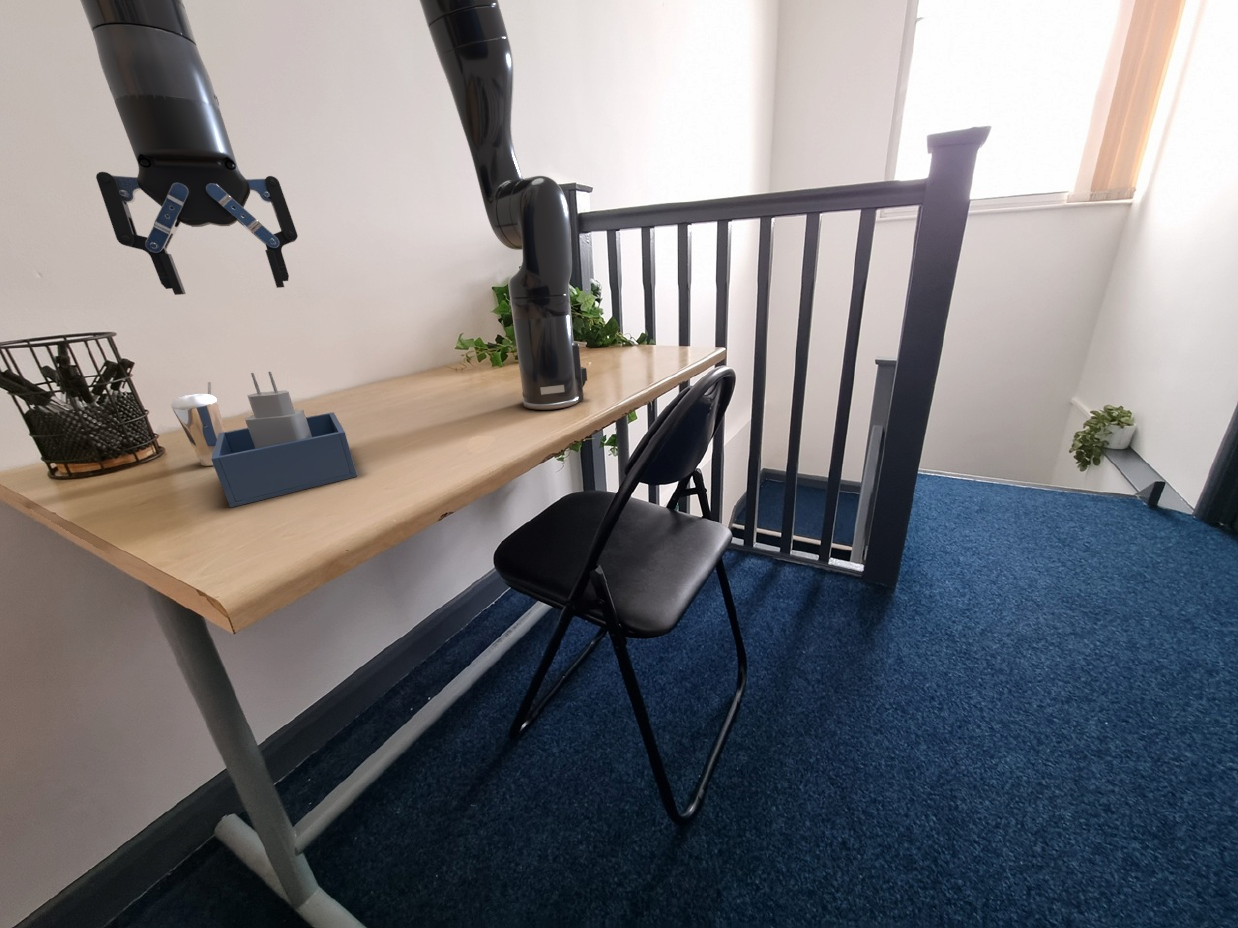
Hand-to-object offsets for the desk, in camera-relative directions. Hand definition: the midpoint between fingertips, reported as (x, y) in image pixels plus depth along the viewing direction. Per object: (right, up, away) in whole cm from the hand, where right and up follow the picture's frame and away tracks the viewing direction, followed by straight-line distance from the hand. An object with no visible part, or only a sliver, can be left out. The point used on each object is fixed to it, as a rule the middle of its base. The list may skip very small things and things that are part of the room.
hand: (232, 290), depth 51 cm
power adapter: (+1, -19, +8) cm, 21 cm away
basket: (+1, -19, +8) cm, 21 cm away
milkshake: (-13, -18, +15) cm, 27 cm away
